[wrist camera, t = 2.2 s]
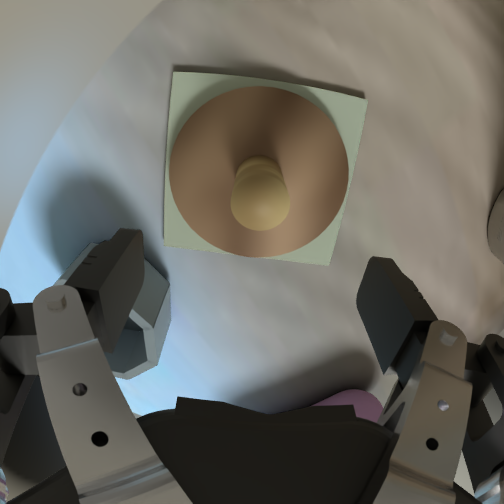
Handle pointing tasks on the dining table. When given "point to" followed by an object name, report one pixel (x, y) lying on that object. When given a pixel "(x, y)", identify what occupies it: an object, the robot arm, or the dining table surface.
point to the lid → (258, 171)
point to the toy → (356, 403)
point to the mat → (211, 85)
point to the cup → (137, 323)
